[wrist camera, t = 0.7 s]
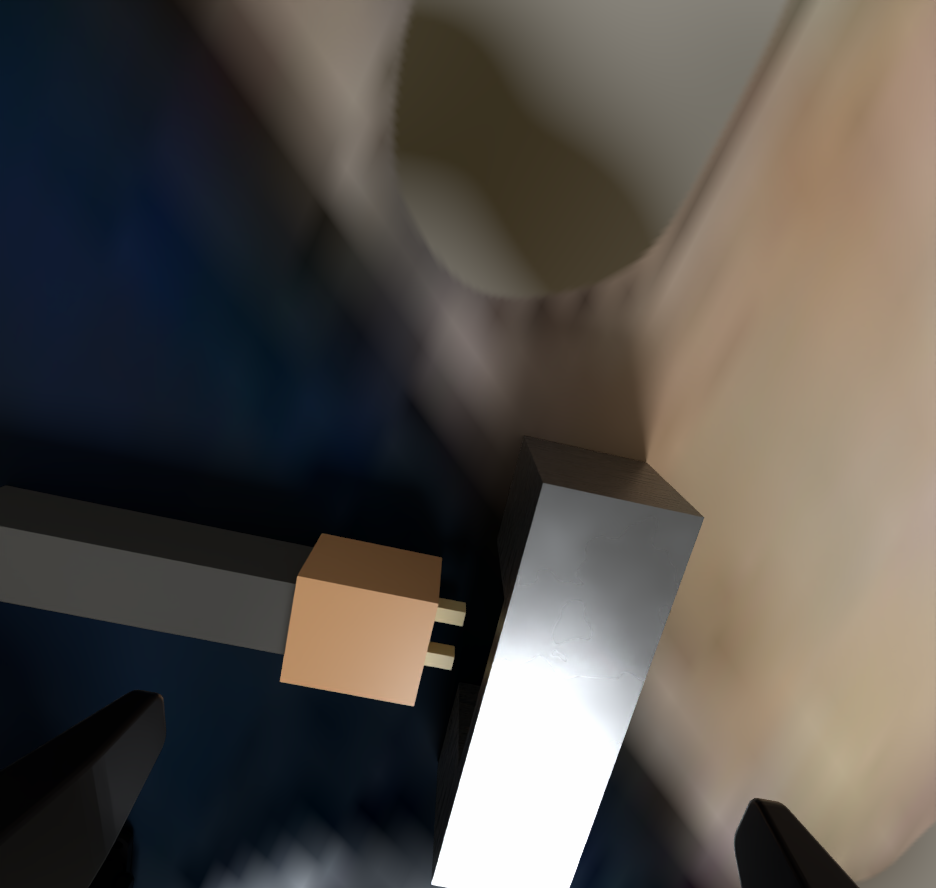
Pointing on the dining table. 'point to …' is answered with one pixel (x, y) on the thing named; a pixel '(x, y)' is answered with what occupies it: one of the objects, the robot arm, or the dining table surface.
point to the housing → (558, 664)
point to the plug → (234, 590)
